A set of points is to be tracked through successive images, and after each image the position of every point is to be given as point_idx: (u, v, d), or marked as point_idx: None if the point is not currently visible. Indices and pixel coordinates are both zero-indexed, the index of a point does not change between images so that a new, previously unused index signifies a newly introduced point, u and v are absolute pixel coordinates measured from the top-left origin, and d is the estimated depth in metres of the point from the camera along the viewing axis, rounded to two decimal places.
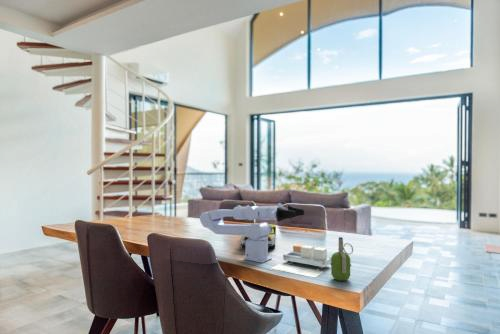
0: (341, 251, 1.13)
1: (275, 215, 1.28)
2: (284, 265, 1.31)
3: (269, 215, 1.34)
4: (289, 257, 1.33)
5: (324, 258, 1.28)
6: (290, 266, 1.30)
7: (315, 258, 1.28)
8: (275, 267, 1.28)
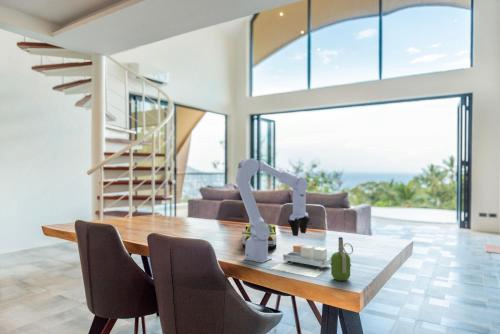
0: (341, 251, 1.13)
1: (291, 220, 1.41)
2: (284, 265, 1.31)
3: (295, 207, 1.44)
4: (289, 257, 1.33)
5: (324, 258, 1.28)
6: (290, 266, 1.30)
7: (315, 258, 1.28)
8: (275, 267, 1.28)
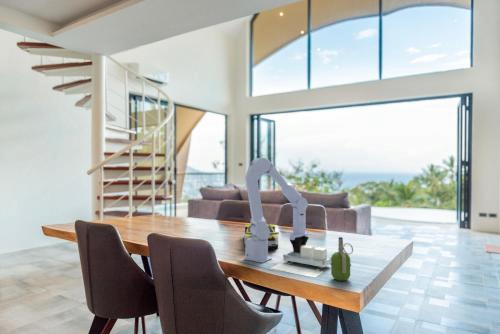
0: (341, 251, 1.13)
1: (291, 239, 1.41)
2: (284, 265, 1.31)
3: (294, 226, 1.44)
4: (289, 257, 1.33)
5: (324, 258, 1.28)
6: (290, 266, 1.30)
7: (315, 258, 1.28)
8: (275, 267, 1.28)
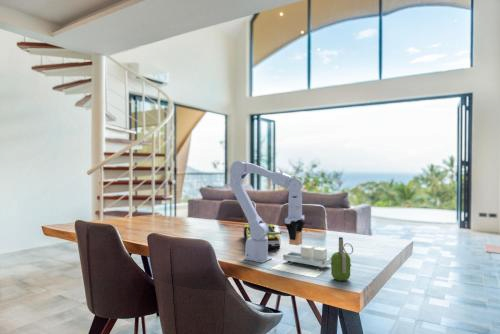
0: (341, 251, 1.13)
1: None
2: (284, 265, 1.31)
3: (290, 209, 1.35)
4: (289, 257, 1.33)
5: (324, 258, 1.28)
6: (290, 266, 1.30)
7: (315, 258, 1.28)
8: (275, 267, 1.28)
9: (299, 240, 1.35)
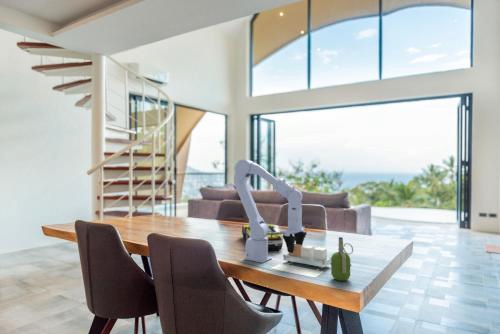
0: (341, 251, 1.13)
1: (286, 235, 1.31)
2: (284, 265, 1.31)
3: (290, 221, 1.34)
4: (289, 257, 1.33)
5: (324, 258, 1.28)
6: (290, 266, 1.30)
7: (315, 258, 1.28)
8: (275, 267, 1.28)
9: (299, 253, 1.34)
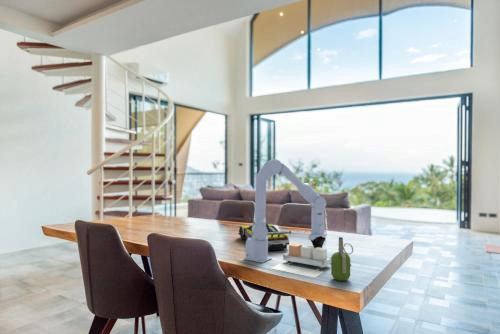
0: (341, 251, 1.13)
1: (310, 239, 1.37)
2: (284, 265, 1.31)
3: (313, 225, 1.40)
4: (289, 257, 1.33)
5: (324, 258, 1.28)
6: (290, 266, 1.30)
7: (315, 258, 1.28)
8: (275, 267, 1.28)
9: (299, 253, 1.34)
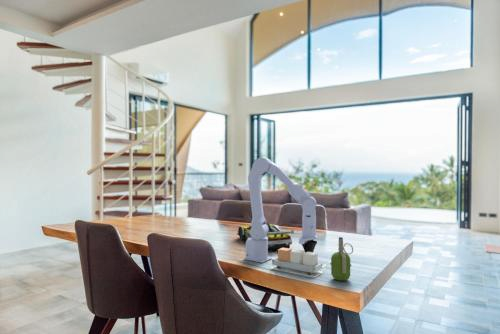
0: (341, 251, 1.13)
1: (301, 243, 1.29)
2: None
3: (304, 228, 1.33)
4: (278, 262, 1.26)
5: (315, 263, 1.21)
6: None
7: (305, 263, 1.21)
8: (275, 267, 1.28)
9: (288, 258, 1.27)
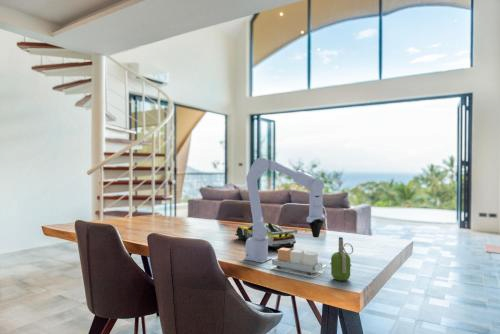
0: (341, 251, 1.13)
1: (308, 222, 1.35)
2: None
3: (311, 208, 1.39)
4: (278, 262, 1.26)
5: (315, 263, 1.21)
6: None
7: (305, 263, 1.21)
8: (275, 267, 1.28)
9: (288, 258, 1.27)
